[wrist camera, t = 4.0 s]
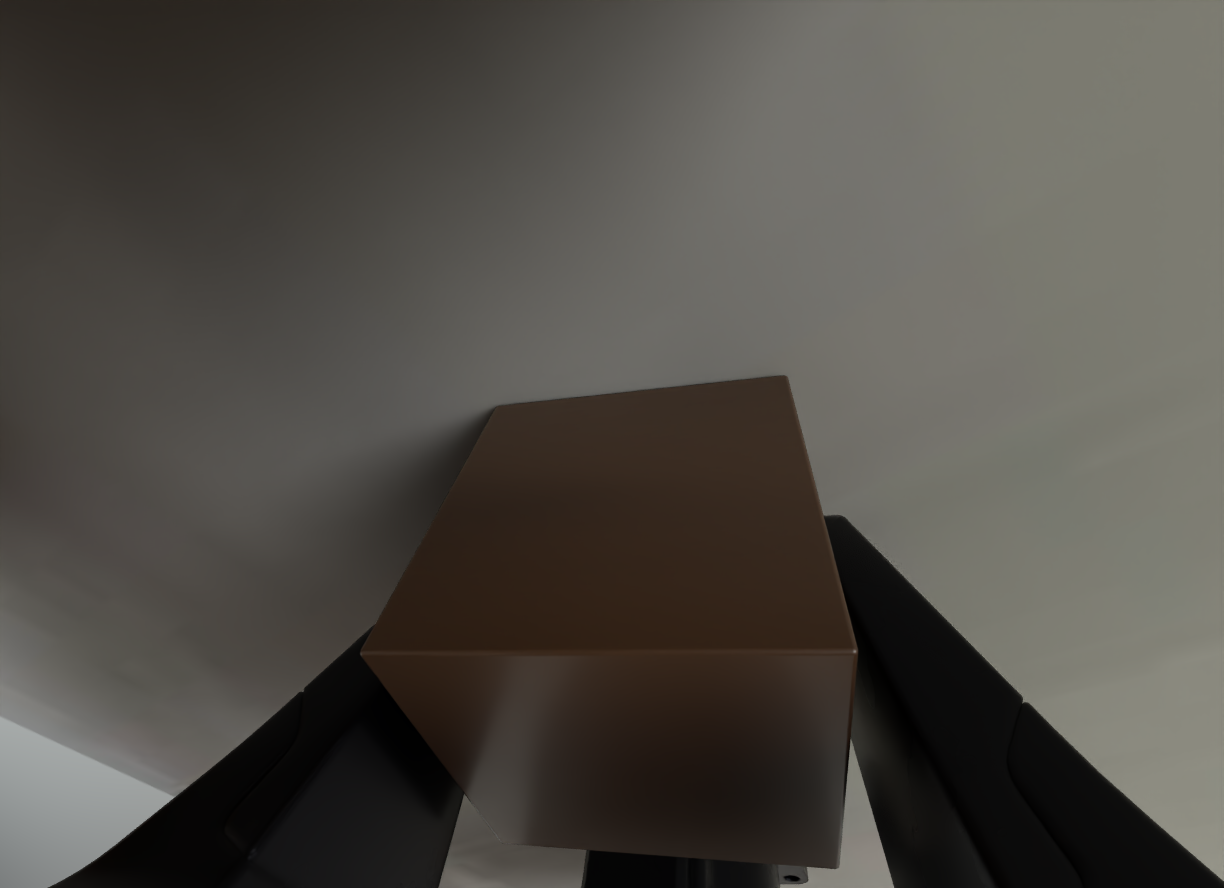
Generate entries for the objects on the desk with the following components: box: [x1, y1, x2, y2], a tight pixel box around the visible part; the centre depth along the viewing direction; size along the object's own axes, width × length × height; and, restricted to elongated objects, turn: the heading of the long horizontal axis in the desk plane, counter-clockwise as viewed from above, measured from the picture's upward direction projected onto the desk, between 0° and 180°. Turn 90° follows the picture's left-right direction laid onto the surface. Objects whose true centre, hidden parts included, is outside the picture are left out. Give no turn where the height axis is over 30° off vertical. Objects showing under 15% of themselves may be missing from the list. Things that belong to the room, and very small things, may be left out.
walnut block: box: [360, 376, 858, 869], centre depth 8 cm, size 5×5×5 cm
